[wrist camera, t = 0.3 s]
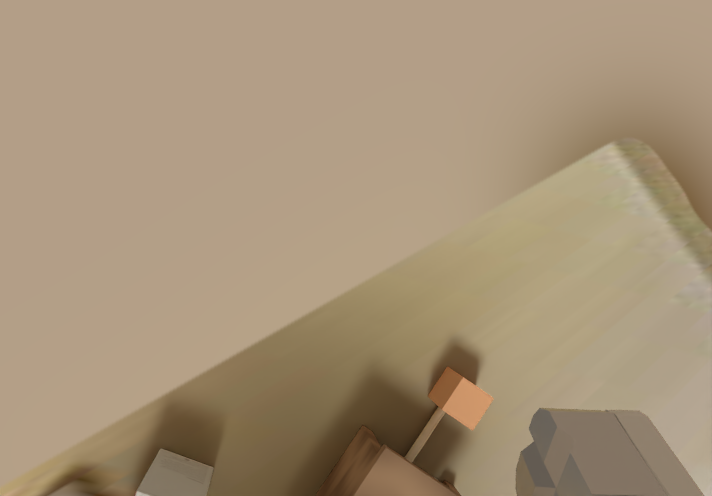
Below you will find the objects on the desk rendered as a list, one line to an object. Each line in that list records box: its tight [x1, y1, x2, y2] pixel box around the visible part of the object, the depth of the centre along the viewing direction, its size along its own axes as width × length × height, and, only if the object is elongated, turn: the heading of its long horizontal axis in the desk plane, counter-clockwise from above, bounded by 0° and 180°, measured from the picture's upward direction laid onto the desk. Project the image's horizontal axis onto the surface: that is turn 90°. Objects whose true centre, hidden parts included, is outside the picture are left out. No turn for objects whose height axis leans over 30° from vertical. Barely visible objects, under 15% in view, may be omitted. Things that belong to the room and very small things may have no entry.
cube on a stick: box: [405, 366, 494, 463], centre depth 60 cm, size 21×7×6 cm, turn 145°
